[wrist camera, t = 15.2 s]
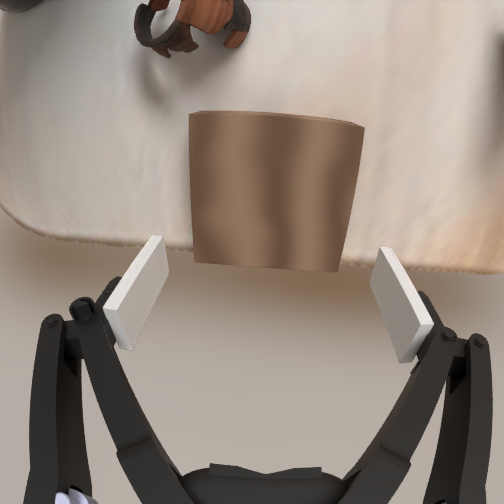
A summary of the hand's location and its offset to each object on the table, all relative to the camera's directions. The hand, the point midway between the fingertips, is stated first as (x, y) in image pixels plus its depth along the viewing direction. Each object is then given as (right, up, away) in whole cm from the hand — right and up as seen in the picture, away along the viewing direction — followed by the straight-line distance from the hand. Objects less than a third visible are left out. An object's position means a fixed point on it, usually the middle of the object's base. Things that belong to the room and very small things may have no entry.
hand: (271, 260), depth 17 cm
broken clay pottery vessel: (-4, +24, +4) cm, 25 cm away
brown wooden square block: (+1, +8, +13) cm, 15 cm away
